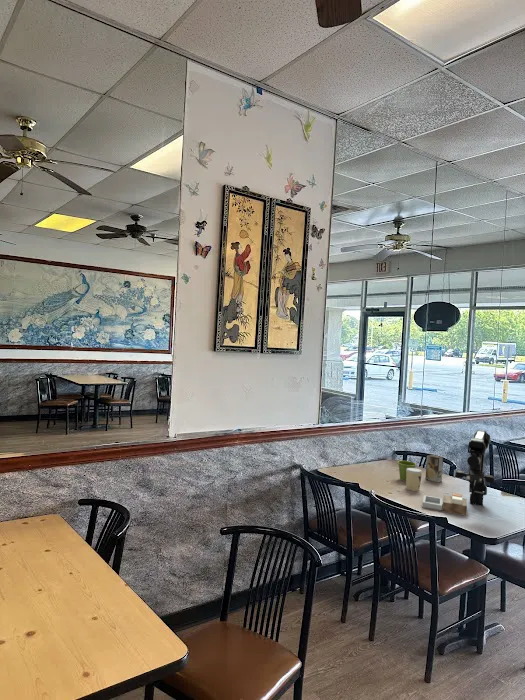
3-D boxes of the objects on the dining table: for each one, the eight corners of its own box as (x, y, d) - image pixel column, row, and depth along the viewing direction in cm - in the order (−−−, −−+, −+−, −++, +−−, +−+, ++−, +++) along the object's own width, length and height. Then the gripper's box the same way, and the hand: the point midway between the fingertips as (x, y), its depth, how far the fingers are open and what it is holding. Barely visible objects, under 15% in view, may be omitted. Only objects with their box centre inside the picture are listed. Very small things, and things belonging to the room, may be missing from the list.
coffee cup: (421, 492, 297) (423, 472, 297) (405, 490, 299) (407, 470, 299) (419, 487, 306) (421, 468, 306) (404, 485, 308) (405, 466, 308)
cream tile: (461, 502, 266) (462, 497, 266) (461, 504, 262) (462, 500, 262) (452, 500, 268) (452, 495, 268) (451, 503, 264) (452, 498, 264)
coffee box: (442, 481, 325) (444, 457, 325) (437, 482, 321) (439, 458, 321) (429, 477, 332) (431, 454, 332) (424, 479, 328) (426, 455, 327)
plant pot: (392, 478, 323) (394, 461, 323) (402, 476, 331) (403, 459, 331) (408, 483, 314) (409, 466, 314) (418, 480, 322) (419, 463, 322)
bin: (442, 503, 278) (442, 498, 278) (441, 511, 265) (441, 505, 264) (423, 500, 281) (424, 495, 281) (422, 507, 268) (422, 502, 268)
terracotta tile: (461, 498, 273) (462, 494, 273) (461, 501, 268) (462, 496, 268) (452, 496, 275) (452, 492, 275) (452, 499, 270) (452, 494, 270)
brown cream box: (465, 507, 273) (466, 498, 273) (466, 515, 260) (467, 506, 260) (442, 503, 277) (443, 495, 277) (442, 511, 264) (443, 502, 264)
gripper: (456, 463, 258) (454, 493, 258) (495, 469, 251) (493, 499, 251) (456, 459, 268) (454, 487, 268) (494, 465, 261) (491, 494, 262)
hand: (472, 492), depth 262 cm, fingers closed
